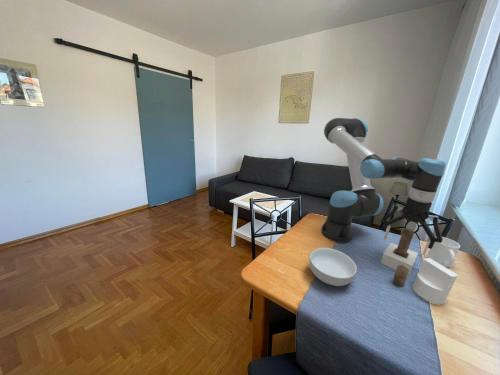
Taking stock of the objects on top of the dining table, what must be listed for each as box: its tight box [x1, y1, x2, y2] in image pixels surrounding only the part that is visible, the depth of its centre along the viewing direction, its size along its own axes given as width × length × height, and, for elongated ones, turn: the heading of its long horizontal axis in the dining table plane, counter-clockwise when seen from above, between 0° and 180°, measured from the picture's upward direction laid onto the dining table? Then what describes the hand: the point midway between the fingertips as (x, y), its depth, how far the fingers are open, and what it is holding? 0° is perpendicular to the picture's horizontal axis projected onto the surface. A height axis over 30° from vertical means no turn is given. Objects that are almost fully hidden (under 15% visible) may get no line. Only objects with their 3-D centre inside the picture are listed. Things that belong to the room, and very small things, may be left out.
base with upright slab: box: [412, 257, 459, 305], centre depth 71 cm, size 9×9×12 cm
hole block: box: [380, 242, 419, 277], centre depth 87 cm, size 10×12×5 cm
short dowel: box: [391, 265, 409, 288], centre depth 75 cm, size 4×4×7 cm
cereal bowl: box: [308, 247, 358, 287], centre depth 78 cm, size 17×17×7 cm
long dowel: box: [395, 228, 415, 258], centre depth 85 cm, size 4×4×16 cm
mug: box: [426, 236, 461, 268], centre depth 87 cm, size 12×8×10 cm
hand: (403, 245), depth 85 cm, fingers open, 13 cm apart
